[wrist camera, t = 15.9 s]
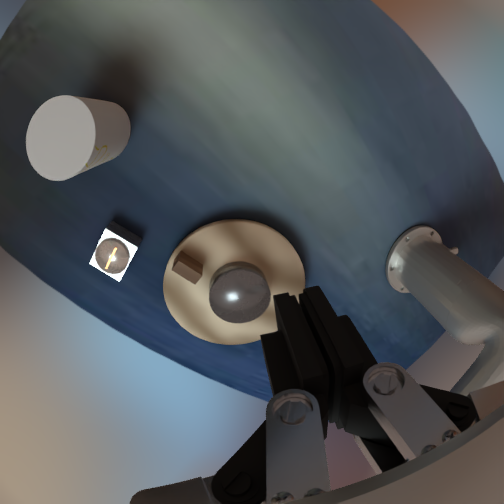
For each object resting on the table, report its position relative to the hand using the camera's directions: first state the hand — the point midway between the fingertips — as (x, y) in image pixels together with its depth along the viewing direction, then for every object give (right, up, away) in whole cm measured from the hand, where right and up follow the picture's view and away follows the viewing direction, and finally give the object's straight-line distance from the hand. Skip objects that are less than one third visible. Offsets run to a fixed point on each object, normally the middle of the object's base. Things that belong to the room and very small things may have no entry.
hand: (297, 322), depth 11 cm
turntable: (-4, -2, +32) cm, 32 cm away
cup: (-21, +18, +21) cm, 35 cm away
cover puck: (-4, -2, +30) cm, 30 cm away
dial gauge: (-20, +3, +28) cm, 35 cm away
